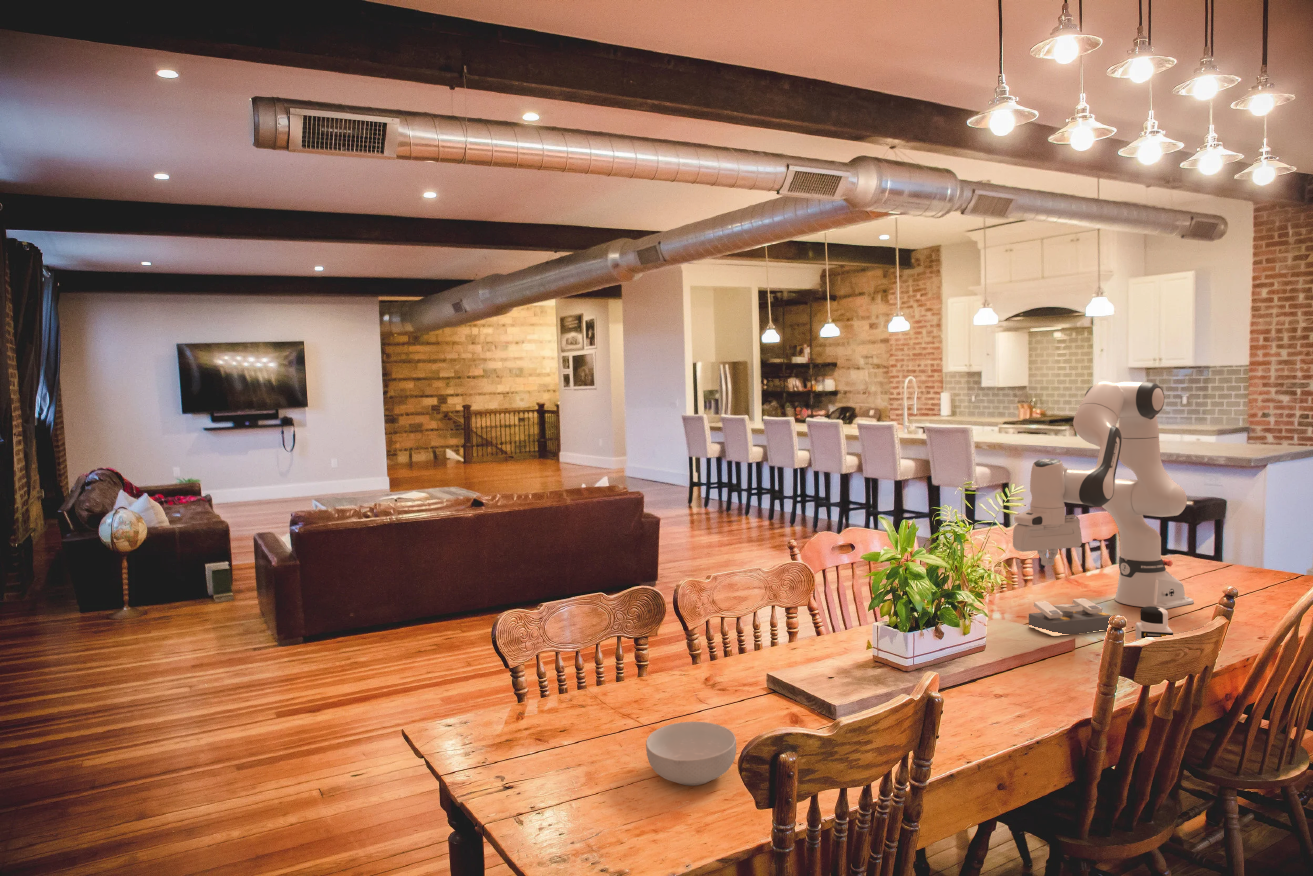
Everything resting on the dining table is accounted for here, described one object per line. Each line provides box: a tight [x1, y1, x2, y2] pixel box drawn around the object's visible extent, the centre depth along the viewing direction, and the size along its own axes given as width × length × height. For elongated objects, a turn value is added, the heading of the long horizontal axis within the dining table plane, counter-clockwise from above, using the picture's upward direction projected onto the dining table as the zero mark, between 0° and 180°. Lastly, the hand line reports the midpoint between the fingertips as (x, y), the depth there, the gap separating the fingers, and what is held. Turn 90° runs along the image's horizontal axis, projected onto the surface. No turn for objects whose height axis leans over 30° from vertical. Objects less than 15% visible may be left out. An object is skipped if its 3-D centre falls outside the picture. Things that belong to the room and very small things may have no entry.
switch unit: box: [1028, 610, 1113, 635], centre depth 233 cm, size 20×10×5 cm, turn 103°
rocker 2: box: [1052, 603, 1083, 611], centre depth 232 cm, size 4×7×1 cm, turn 13°
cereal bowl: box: [645, 721, 737, 787], centre depth 151 cm, size 17×17×7 cm
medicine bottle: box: [1135, 606, 1174, 641], centre depth 209 cm, size 7×7×12 cm
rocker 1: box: [1033, 600, 1063, 619], centre depth 231 cm, size 4×7×1 cm, turn 13°
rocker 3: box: [1072, 597, 1103, 613], centre depth 234 cm, size 4×7×1 cm, turn 13°
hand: (1047, 564), depth 230 cm, fingers closed
